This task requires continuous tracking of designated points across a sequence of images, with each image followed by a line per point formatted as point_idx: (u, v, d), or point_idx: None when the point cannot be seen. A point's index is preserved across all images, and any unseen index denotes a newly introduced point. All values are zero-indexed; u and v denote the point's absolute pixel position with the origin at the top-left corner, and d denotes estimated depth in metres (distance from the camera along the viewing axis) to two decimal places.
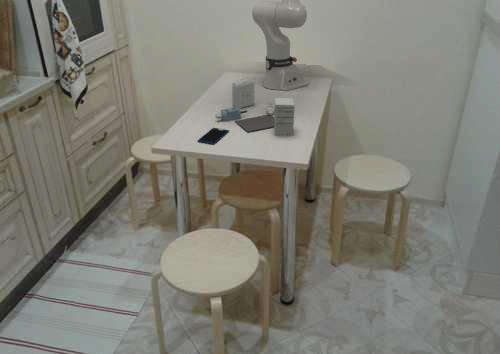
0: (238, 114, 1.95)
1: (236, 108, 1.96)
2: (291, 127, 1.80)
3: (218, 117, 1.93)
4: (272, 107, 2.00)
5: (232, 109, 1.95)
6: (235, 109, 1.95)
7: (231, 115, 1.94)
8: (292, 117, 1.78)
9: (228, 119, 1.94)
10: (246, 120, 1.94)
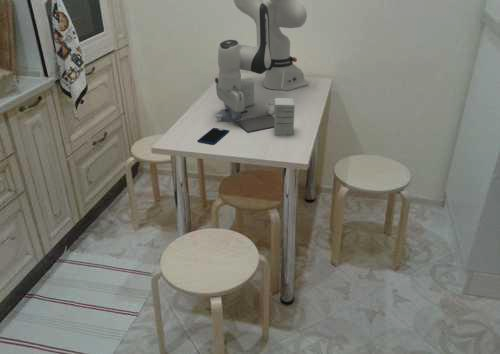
0: (238, 114, 1.95)
1: None
2: (291, 127, 1.80)
3: (218, 117, 1.93)
4: (272, 107, 2.00)
5: None
6: None
7: None
8: (292, 117, 1.78)
9: (228, 119, 1.94)
10: (246, 120, 1.94)
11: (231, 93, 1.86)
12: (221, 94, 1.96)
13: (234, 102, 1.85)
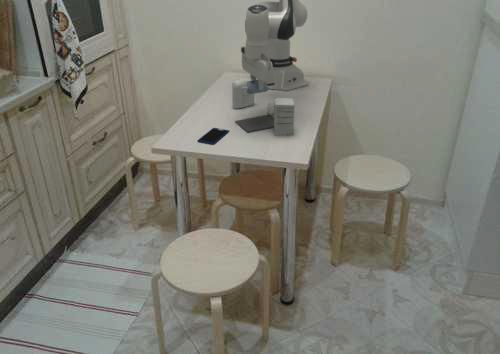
0: (265, 86, 1.84)
1: None
2: (291, 127, 1.80)
3: (244, 89, 1.82)
4: (272, 107, 2.00)
5: None
6: None
7: None
8: (292, 117, 1.78)
9: (254, 91, 1.83)
10: (246, 120, 1.94)
11: (259, 62, 1.74)
12: (247, 65, 1.84)
13: (262, 71, 1.73)
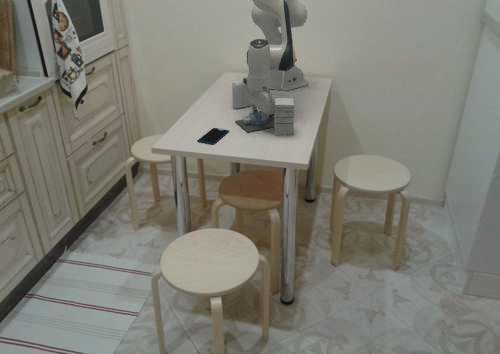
0: (267, 117, 1.90)
1: None
2: (291, 127, 1.80)
3: (246, 121, 1.88)
4: None
5: (260, 112, 1.90)
6: None
7: (259, 119, 1.89)
8: (292, 117, 1.78)
9: (256, 123, 1.89)
10: None
11: (261, 94, 1.80)
12: (249, 95, 1.90)
13: (264, 103, 1.79)
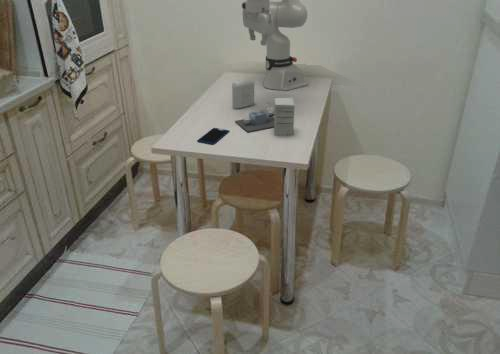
0: (267, 117, 1.90)
1: (264, 111, 1.91)
2: (291, 127, 1.80)
3: (246, 121, 1.88)
4: (272, 107, 2.00)
5: (260, 112, 1.90)
6: (264, 112, 1.90)
7: (259, 119, 1.89)
8: (292, 117, 1.78)
9: (256, 123, 1.89)
10: None
11: (260, 15, 1.80)
12: (248, 21, 1.90)
13: (263, 24, 1.79)
